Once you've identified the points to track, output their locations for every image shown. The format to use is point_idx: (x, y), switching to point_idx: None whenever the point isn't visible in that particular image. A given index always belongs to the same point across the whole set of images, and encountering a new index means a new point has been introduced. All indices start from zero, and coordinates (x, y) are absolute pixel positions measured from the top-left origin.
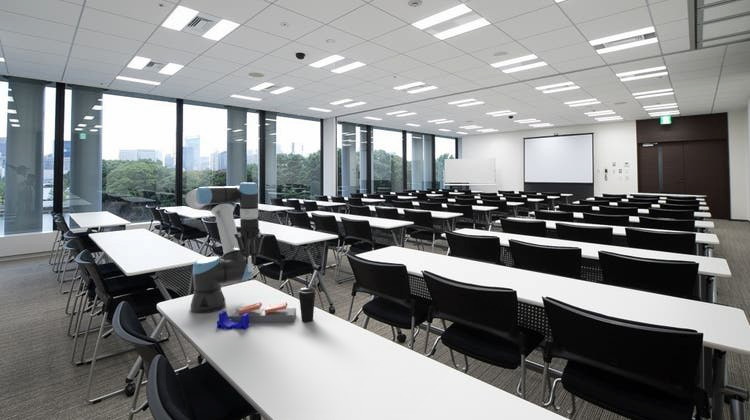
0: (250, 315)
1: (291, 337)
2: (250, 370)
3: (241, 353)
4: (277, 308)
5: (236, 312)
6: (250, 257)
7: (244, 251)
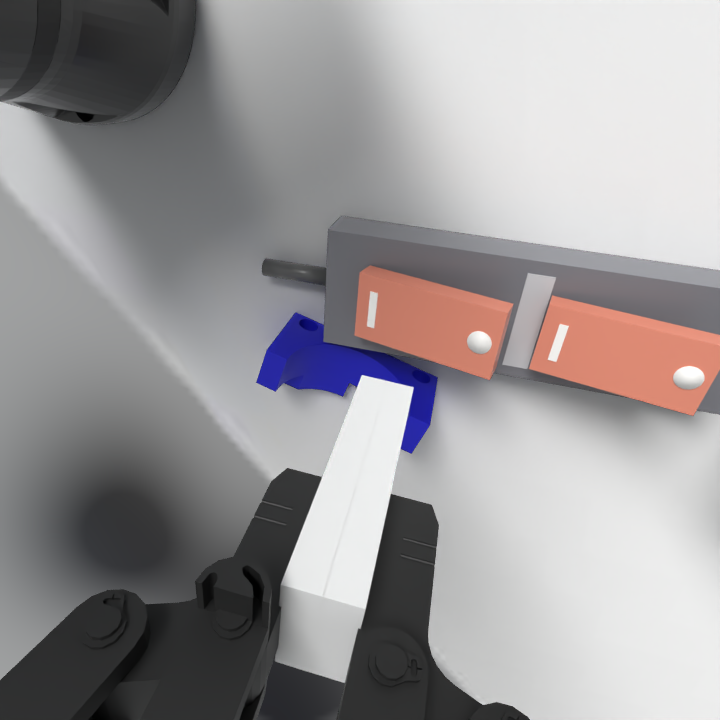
0: None
1: (643, 526)
2: (472, 640)
3: None
4: (626, 393)
5: (340, 288)
6: (333, 671)
7: (96, 697)
